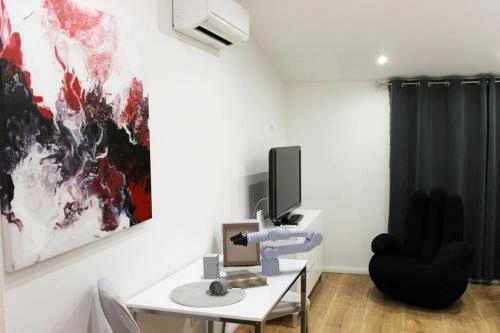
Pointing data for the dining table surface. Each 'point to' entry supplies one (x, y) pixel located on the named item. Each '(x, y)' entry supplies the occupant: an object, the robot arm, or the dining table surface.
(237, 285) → the bench fence
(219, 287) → the ceramic mug
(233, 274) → the grey flat piece
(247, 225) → the photo frame
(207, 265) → the supplement box
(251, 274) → the bench mat
